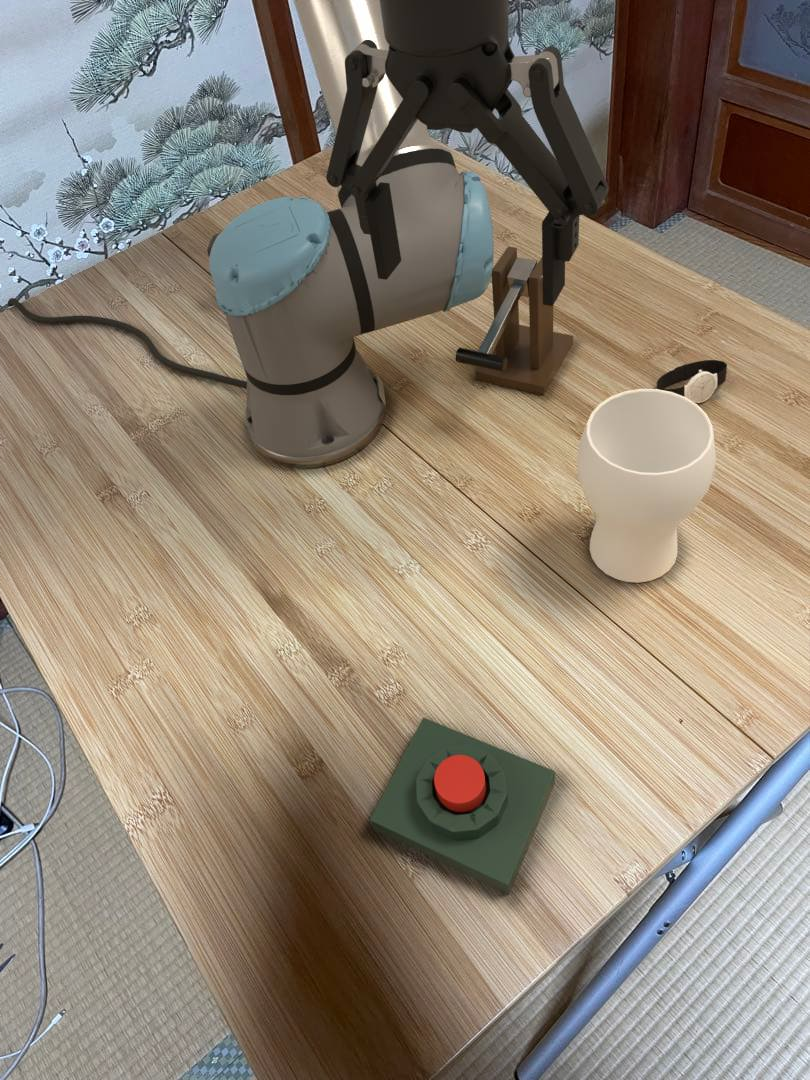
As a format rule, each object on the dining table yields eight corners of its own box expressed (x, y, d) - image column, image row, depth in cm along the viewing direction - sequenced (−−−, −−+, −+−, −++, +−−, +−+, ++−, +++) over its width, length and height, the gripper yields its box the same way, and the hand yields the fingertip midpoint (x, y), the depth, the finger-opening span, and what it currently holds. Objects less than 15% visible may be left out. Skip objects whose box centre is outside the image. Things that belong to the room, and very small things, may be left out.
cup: (667, 614, 71) (691, 499, 59) (553, 569, 76) (555, 454, 64) (711, 527, 76) (741, 405, 64) (602, 490, 81) (611, 369, 69)
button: (428, 800, 60) (425, 791, 59) (449, 757, 62) (447, 747, 61) (473, 820, 59) (472, 811, 57) (493, 776, 61) (492, 766, 59)
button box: (373, 830, 63) (365, 811, 60) (426, 729, 67) (420, 706, 64) (509, 895, 59) (507, 878, 56) (555, 782, 63) (555, 761, 60)
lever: (503, 378, 81) (500, 362, 79) (457, 367, 83) (453, 352, 81) (551, 279, 86) (550, 262, 84) (506, 272, 88) (504, 254, 85)
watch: (669, 417, 85) (674, 390, 83) (644, 390, 88) (647, 363, 85) (734, 391, 86) (741, 364, 84) (708, 365, 89) (713, 338, 87)
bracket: (543, 395, 90) (543, 294, 80) (476, 379, 93) (467, 280, 83) (573, 344, 94) (576, 243, 84) (507, 330, 97) (503, 231, 87)
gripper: (226, -18, 50) (306, 286, 66) (639, -13, 41) (614, 338, 57) (289, -62, 54) (349, 235, 70) (678, -67, 45) (645, 276, 61)
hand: (468, 282), depth 64 cm, fingers open, 13 cm apart
